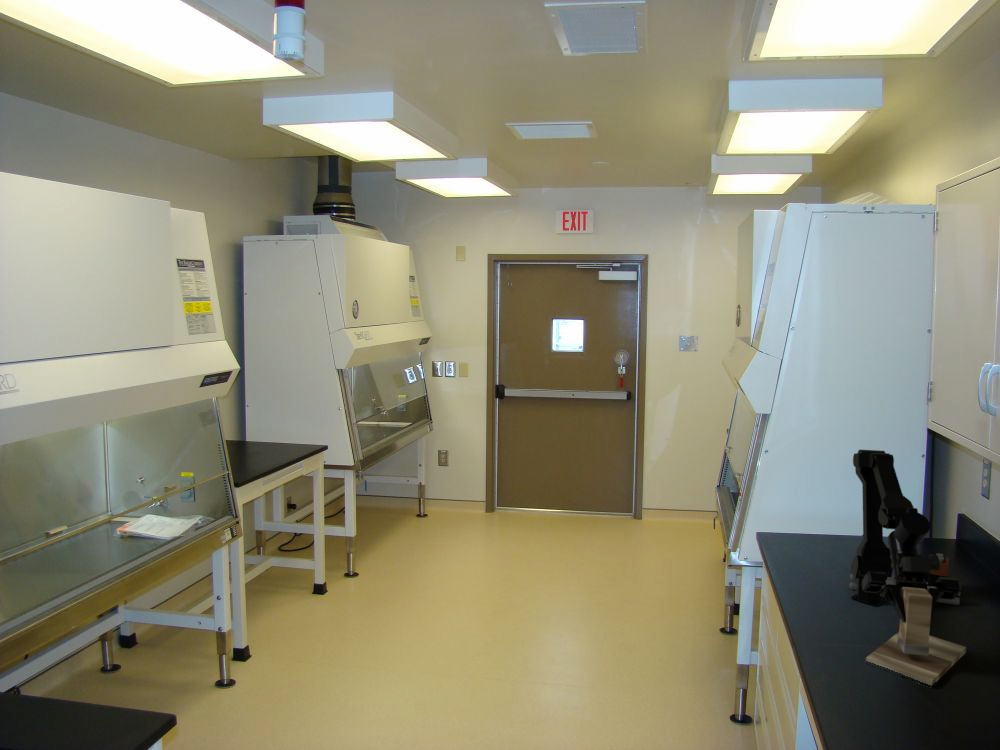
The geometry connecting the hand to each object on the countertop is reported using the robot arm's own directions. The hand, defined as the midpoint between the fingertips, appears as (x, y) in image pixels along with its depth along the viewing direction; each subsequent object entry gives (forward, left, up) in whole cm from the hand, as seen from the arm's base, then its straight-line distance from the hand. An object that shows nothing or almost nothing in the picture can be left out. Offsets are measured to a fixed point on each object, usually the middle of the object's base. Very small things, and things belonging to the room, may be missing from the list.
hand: (917, 623), depth 161 cm
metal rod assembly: (-38, -16, -10) cm, 42 cm away
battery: (-49, -11, -10) cm, 51 cm away
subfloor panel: (-4, -1, -10) cm, 11 cm away
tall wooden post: (-1, -1, -7) cm, 7 cm away
